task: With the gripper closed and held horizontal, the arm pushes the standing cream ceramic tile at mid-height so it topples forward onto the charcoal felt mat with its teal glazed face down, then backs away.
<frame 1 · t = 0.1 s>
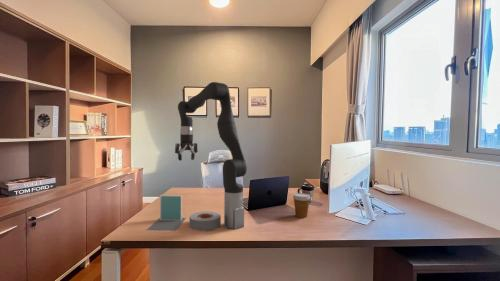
hand: (186, 160, 160), 29 cm above the table, tool pointing down, fingers open, 8 cm apart
disposable coffee cup: (301, 216, 145), on the table
mat: (167, 224, 130), on the table
tape roll: (205, 226, 129), on the table
tile: (171, 219, 136), resting on mat
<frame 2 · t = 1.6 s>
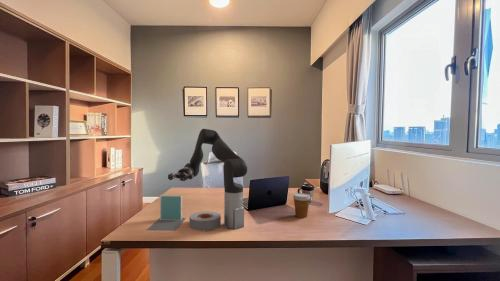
hand: (177, 178, 146), 20 cm above the table, tool horizontal, fingers open, 7 cm apart
nothing on the table moved.
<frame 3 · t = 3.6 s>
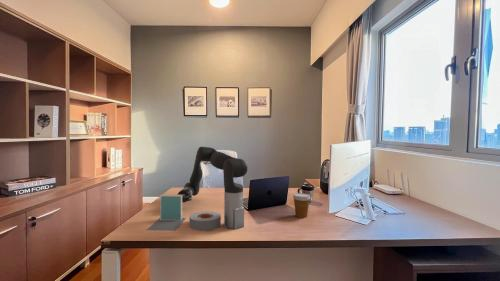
hand: (176, 201, 146), 7 cm above the table, tool horizontal, fingers closed
nothing on the table moved.
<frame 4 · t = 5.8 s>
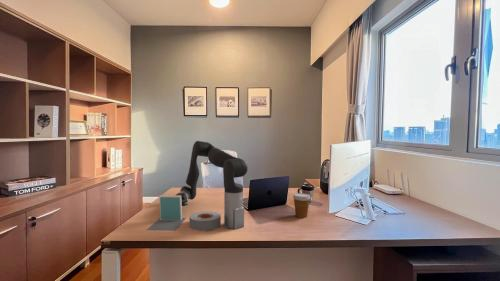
hand: (171, 207, 136), 7 cm above the table, tool horizontal, fingers closed
tile: (171, 219, 136), resting on mat, tilted 7°
everything else where it was.
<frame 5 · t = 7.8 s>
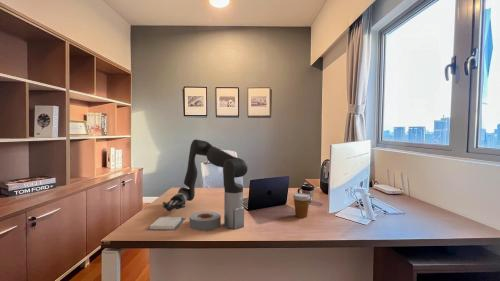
hand: (168, 209, 132), 7 cm above the table, tool horizontal, fingers closed
tile: (170, 218, 135), point 1 cm above the table, tilted 90°, touching mat
everything else where it was.
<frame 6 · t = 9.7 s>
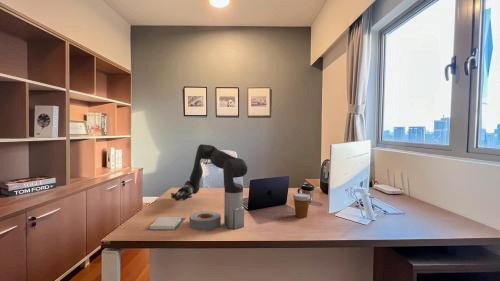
hand: (177, 198, 145), 9 cm above the table, tool horizontal, fingers closed
nothing on the table moved.
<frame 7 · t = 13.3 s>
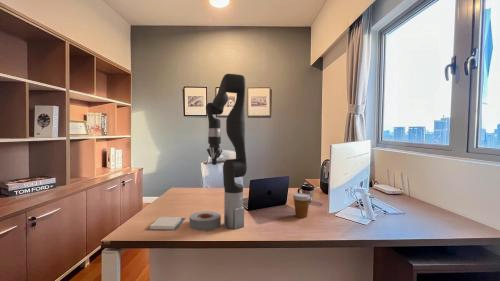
hand: (214, 164, 157), 27 cm above the table, tool pointing down, fingers closed
nothing on the table moved.
at the end: tile tilted 90°; tile point 1.3 cm above the table; tile inside the target area (1.4 cm from its centre), point 1.3 cm above the table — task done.
